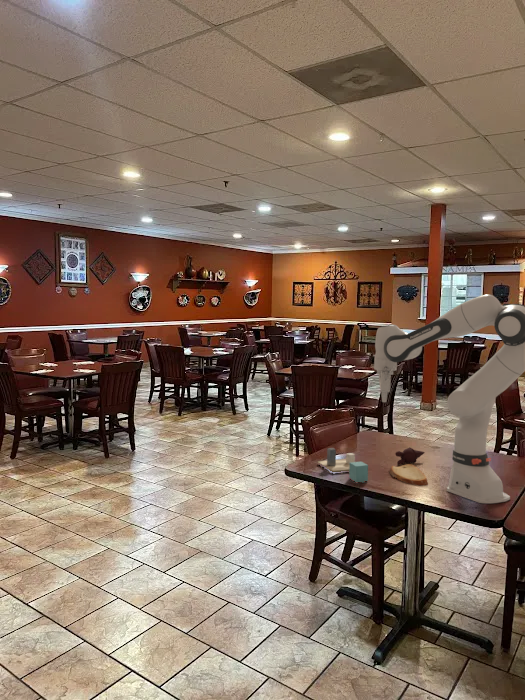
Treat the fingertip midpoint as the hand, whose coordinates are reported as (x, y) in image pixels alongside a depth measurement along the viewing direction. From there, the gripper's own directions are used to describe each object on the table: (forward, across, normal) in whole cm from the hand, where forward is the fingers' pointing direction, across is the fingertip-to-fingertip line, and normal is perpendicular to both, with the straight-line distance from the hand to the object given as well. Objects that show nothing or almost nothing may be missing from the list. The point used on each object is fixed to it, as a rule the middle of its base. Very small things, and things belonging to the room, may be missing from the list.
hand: (383, 399), depth 218 cm
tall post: (+29, +3, +20) cm, 36 cm away
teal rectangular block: (+30, -10, +8) cm, 33 cm away
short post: (+29, +7, +12) cm, 33 cm away
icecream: (+31, +19, -13) cm, 38 cm away
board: (+31, +5, +16) cm, 35 cm away
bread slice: (+31, -1, -12) cm, 33 cm away
